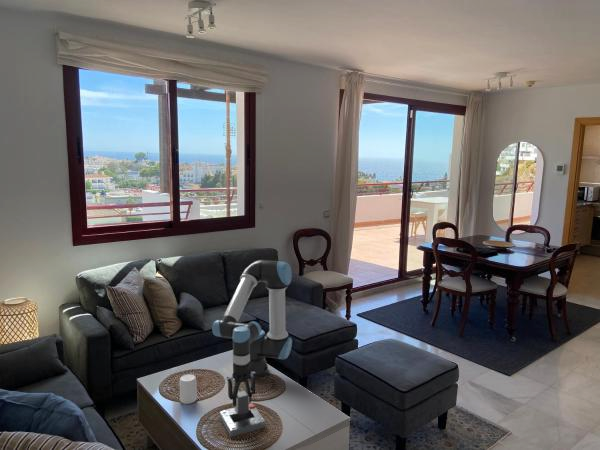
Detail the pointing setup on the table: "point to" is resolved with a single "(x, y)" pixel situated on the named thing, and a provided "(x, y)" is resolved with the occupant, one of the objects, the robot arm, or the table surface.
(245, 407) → the plug
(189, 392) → the white upside-down cup
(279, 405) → the table surface
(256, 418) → the socket
